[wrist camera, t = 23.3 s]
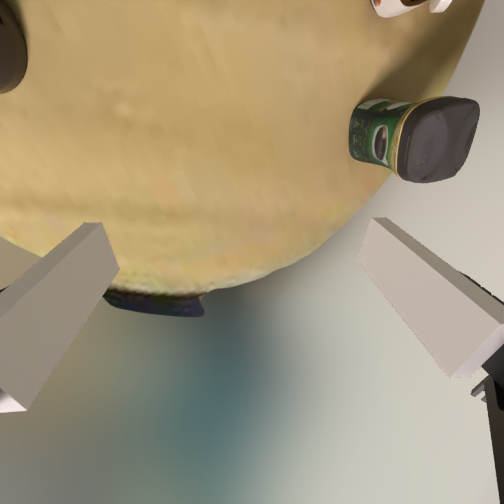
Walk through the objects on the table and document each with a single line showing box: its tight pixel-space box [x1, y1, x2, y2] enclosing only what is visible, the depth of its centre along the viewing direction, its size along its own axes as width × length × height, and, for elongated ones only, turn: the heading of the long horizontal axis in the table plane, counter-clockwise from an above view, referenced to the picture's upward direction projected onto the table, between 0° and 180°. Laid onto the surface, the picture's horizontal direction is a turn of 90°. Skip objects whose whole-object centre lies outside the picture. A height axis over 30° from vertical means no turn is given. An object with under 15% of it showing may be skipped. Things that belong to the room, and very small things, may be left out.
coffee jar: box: [349, 96, 480, 183], centre depth 33 cm, size 10×8×19 cm
